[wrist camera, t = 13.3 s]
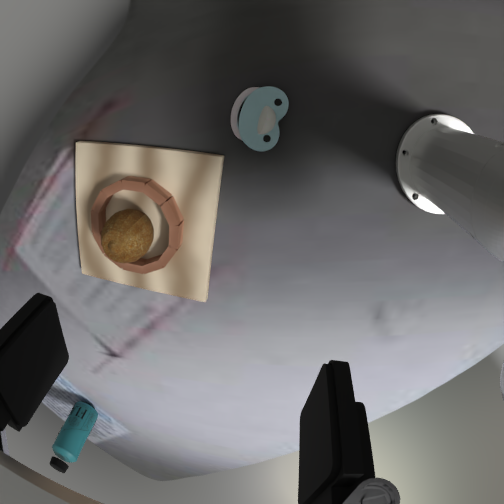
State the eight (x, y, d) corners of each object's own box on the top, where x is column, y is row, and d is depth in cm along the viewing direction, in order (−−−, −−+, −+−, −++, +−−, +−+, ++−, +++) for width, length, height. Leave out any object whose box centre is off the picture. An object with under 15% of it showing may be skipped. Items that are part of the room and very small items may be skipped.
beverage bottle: (95, 399, 62) (60, 466, 44) (105, 416, 65) (75, 480, 47) (73, 393, 63) (38, 456, 45) (84, 410, 66) (53, 471, 48)
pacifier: (224, 138, 36) (274, 152, 36) (211, 144, 30) (270, 161, 30) (241, 79, 33) (293, 93, 33) (230, 74, 27) (292, 90, 27)
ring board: (224, 155, 37) (219, 160, 34) (207, 297, 46) (202, 310, 43) (80, 140, 37) (67, 144, 34) (85, 269, 46) (75, 280, 43)
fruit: (112, 212, 40) (80, 236, 33) (147, 192, 38) (118, 214, 31) (135, 251, 42) (108, 281, 35) (171, 234, 40) (148, 264, 33)
